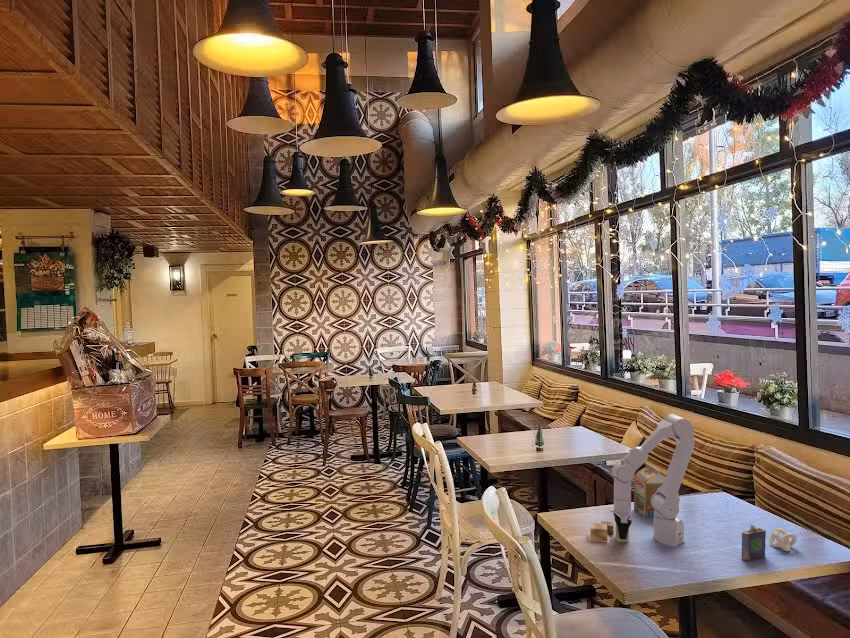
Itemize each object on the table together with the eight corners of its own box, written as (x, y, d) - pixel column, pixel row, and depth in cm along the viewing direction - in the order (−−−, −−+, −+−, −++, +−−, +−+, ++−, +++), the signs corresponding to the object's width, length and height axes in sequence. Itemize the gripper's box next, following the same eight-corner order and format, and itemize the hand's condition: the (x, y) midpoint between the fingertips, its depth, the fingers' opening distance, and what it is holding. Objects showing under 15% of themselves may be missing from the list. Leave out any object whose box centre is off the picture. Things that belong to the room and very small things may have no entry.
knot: (762, 545, 203) (762, 528, 203) (779, 541, 206) (779, 525, 206) (782, 553, 196) (782, 536, 196) (799, 550, 199) (800, 532, 199)
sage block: (627, 538, 208) (627, 523, 208) (628, 542, 205) (628, 528, 204) (615, 537, 209) (615, 523, 209) (616, 541, 206) (616, 527, 205)
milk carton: (634, 509, 239) (634, 463, 238) (659, 509, 240) (659, 462, 239) (645, 519, 228) (645, 470, 228) (672, 518, 229) (672, 469, 229)
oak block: (606, 535, 211) (606, 524, 211) (607, 541, 206) (607, 529, 206) (590, 533, 212) (590, 522, 212) (590, 539, 207) (590, 528, 207)
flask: (746, 561, 190) (746, 528, 190) (738, 558, 193) (738, 525, 193) (767, 557, 193) (767, 525, 193) (759, 554, 196) (759, 522, 196)
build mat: (637, 540, 208) (637, 538, 208) (615, 551, 199) (615, 549, 199) (601, 528, 219) (601, 526, 219) (578, 538, 209) (578, 536, 209)
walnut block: (612, 530, 216) (612, 522, 216) (613, 534, 212) (613, 526, 212) (601, 529, 217) (601, 521, 217) (601, 533, 213) (601, 525, 213)
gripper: (609, 490, 215) (609, 527, 215) (611, 503, 201) (611, 543, 201) (629, 491, 213) (629, 529, 213) (633, 505, 199) (633, 545, 199)
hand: (622, 536), depth 207 cm, fingers closed on sage block, 4 cm apart
